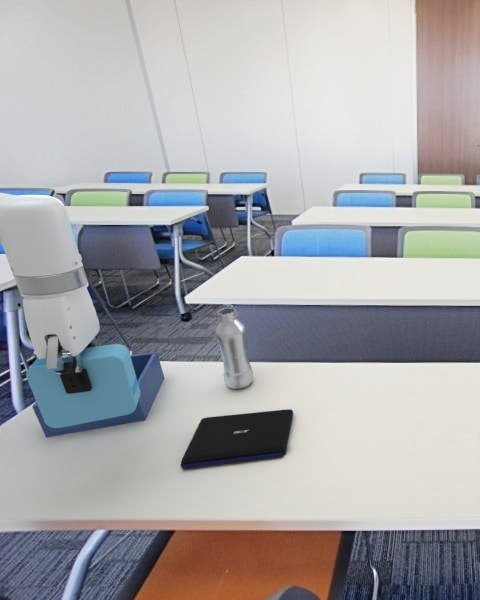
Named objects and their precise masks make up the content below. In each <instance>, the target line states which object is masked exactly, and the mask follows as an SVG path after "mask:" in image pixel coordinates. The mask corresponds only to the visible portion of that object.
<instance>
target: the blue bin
mask: <svg viewBox="0 0 480 600" xmlns="http://www.w3.org/2000/svg"><path fill="white" fill-rule="evenodd" d="M130 357H131V360H132V364H133V367H134V371H135V374H136V378H137V382H138V385H139V389H140V393H141V394H140V397H139V400H138V404H137V407H136V409H135V411H134V412H132V413H131V414H128V415H123V416H118V417H113V418H108V419H103V420H98V421H93V422H88V423H83V424H78V425H73V426H67V427H62V428H52V427H49V426H48V425H46V423H45V421H44V419H43V417H42V414H41V412H40V409H39V407H38V404H37V402H36V401H35V403H34V404H33V405H32V410H33V412H34V414H35V416H36V419H37V421H38V423H39V425H40V427H41V429H42V432H43V434H44V436H45V438H49V437H56V436H61V435H67V434H73V433H79V432H85V431H90V430H96V429H102V428H107V427H115V426H119V425H124V424H125V425H126V424H131V423H138V422H143V421H146V419H147V417H148V415H149V413H150V411H151V408H152V406H153V404H154V401H155V400H156V397H157V395H158V393H159V391H160V389H161V387H162V384H163V382H164V380H165V375H164V371H163V368H162V367H163V366H162V365H161V360H160V357H159V354H158V351H154V352H153V351H152V352H145V353H137V354H130Z"/></svg>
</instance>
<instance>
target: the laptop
mask: <svg viewBox="0 0 480 600" xmlns="http://www.w3.org/2000/svg"><path fill="white" fill-rule="evenodd" d="M293 417H294V410H293V409H291V408H289V409H277V410H267V411H258V412H257V411H256V412H247V413H238V414H228V415H220V416H219V415H217V416H207V417H203V418H202V419H200V421H199V423H198V426H197V427H196V429H195V431H194V433H193V436H192V438H191V439H190V442H189V444H188V446H187V448H186V450H185V451H184V454H183V456H182V458H181V461H180V467H181V469H182V470H186V469H195V468H202V467H209V466H211V467H212V466H218V465H228V464H234V463H235V464H236V463H242V462H250V461H258V460H266V459H267V460H268V459H275V458H282V457H284V456H285V455H286V453H287V447H288V444H289V438H290V433H291V428H292V422H293Z"/></svg>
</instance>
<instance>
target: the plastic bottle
mask: <svg viewBox="0 0 480 600" xmlns="http://www.w3.org/2000/svg"><path fill="white" fill-rule="evenodd" d="M237 318H238V315H237V311H236V309H235V308H234V307H225V308H221V309H219V310H217V319H218V321H219V322H218V324H217V325H216V328H215V331H214V336H215V339H216V341H217V344H218V347H219V349H220V353H221V357H222V365H223V380H224V383H225V385H226V386H227V387H229V388H230V389H234V390H240V389H243V388H246V387H247V386H249V385H251V383H252V382H253V380H254V370H253V367H252V365H251V364H250V360H249V356H248V353H247V352H248V350H247V344H246V343H247V342H246V341H247V339H246V338H247V337H246V335H247V334H246V332H247V331H246V327H245V325H244V324H243V323H242V322H241V321H240V320H239V319H237Z"/></svg>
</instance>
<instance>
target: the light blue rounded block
mask: <svg viewBox="0 0 480 600" xmlns="http://www.w3.org/2000/svg"><path fill="white" fill-rule="evenodd" d="M62 353H70V352H69V351H66V350H64V351H62ZM130 355H131V353H130V350H129V348H128V347H127V346H125V345H124V344H120V343H112V344H106V345H100V346H96V347H89V348H85V349H84V350H83V351H82V352H81V353H80V356H81V362H82V369H86V370H87V373H88V376H89V379H90V382H91V385H92V389H91V391H88V392H80V393H73V394H67V393H66V391H65V388H64V385H63V383H62V380H61V377H60V375H58V374H57V372H55V371H53V370H48V369H47V368H46V362H47V358H46V359H44V360H40V359H38V358H37V357H36V359H35V361H34V362H33V363H32V364H31V366H30V367H29V368H28V370H27V371H26V373H25V377H26V380H27V382H28V384H29V387H30V390H31V392H32V394H33V397H34V400H35V403H36V402H37V404H38V407H39V409H40V412H41V414H42V417H43V419H44V421H45V423H46V425H48V426H49V427H52V428H62V427H67V426H73V425H78V424H83V423H88V422H93V421H98V420H103V419H108V418H113V417H118V416H123V415H128V414H131V413H132V412H134V411H135V409H136V407H137V404H138V400H139V397H140V394H141V393H140V389H139V385H138V382H137V378H136V374H135V371H134V367H133V364H132V360H131V357H130ZM63 361H64V362H70V363H72V364H73V357H72V358H63Z"/></svg>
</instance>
